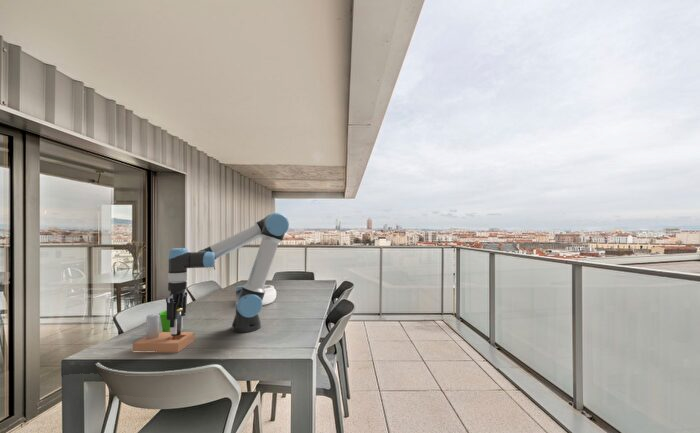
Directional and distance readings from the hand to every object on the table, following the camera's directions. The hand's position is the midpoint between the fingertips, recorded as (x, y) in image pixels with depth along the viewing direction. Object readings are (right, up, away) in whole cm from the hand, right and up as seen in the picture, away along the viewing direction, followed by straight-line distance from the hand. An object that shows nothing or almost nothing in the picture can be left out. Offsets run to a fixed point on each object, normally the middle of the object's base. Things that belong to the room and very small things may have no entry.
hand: (176, 332), depth 138 cm
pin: (0, -1, 0) cm, 1 cm away
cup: (-13, -7, +16) cm, 22 cm away
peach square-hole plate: (-5, -6, 0) cm, 8 cm away
